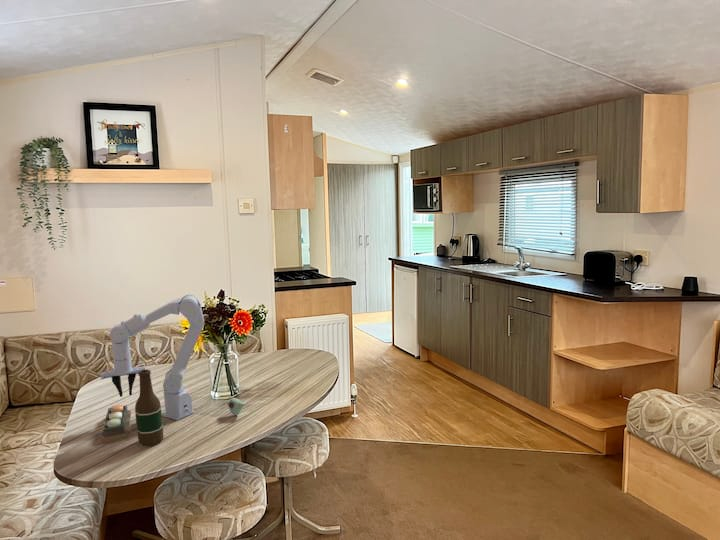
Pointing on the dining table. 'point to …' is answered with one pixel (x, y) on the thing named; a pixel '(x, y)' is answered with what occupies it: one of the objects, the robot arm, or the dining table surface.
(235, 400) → the robot head
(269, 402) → the dining table surface
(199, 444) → the dining table surface
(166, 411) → the robot arm
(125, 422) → the button panel
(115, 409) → the terracotta button
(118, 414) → the cream button
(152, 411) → the beer bottle
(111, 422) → the sage button
